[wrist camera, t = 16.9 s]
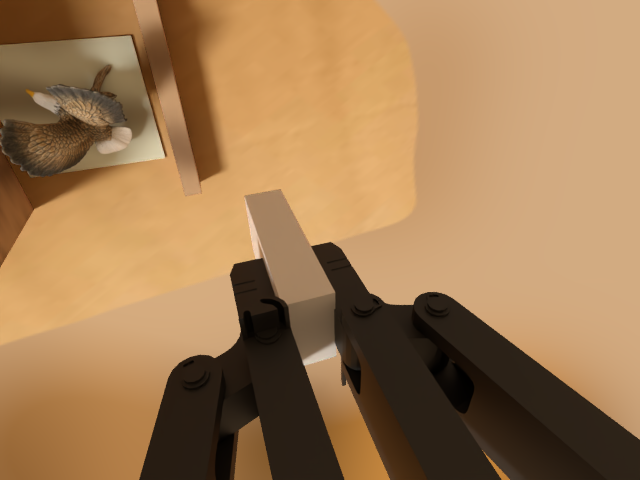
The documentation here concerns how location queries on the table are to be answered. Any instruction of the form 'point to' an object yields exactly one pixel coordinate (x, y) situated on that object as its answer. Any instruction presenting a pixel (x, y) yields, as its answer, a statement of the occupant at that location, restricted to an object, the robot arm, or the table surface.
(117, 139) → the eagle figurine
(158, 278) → the table surface
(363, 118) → the table surface
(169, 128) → the wall board
